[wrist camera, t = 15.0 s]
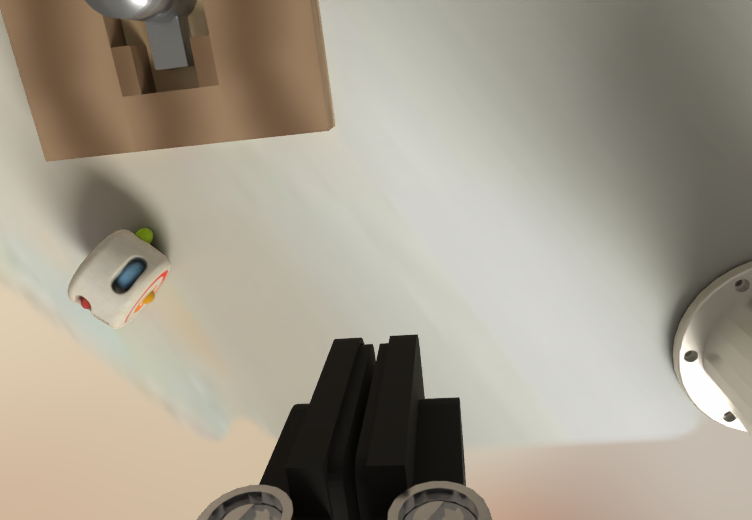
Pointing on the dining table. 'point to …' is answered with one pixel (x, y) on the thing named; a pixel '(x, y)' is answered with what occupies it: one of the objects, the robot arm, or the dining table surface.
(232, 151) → the dining table surface
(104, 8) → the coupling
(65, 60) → the socket plate
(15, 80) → the dining table surface
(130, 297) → the roller toy
